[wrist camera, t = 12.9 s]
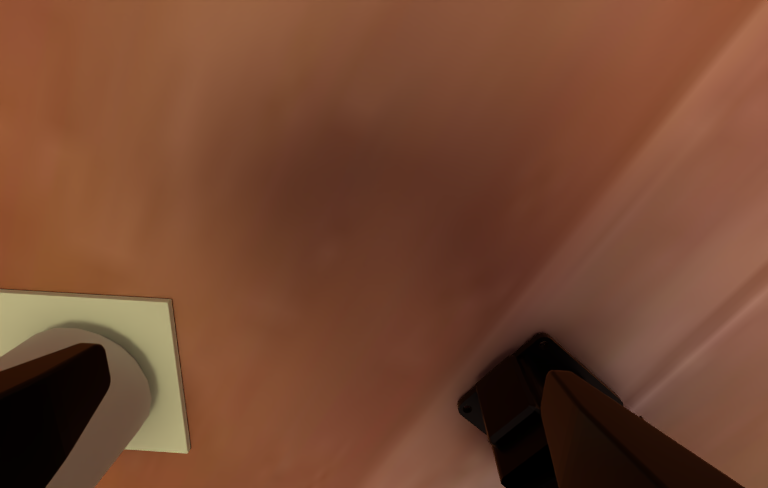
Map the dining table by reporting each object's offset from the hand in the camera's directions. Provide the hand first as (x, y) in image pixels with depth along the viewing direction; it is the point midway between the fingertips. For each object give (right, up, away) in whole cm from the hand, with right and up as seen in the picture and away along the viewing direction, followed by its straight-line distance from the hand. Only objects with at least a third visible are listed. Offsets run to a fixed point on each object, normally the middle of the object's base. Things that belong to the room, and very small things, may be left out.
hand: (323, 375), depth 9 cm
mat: (-15, -5, +16) cm, 23 cm away
